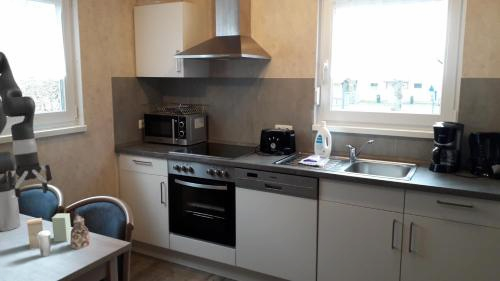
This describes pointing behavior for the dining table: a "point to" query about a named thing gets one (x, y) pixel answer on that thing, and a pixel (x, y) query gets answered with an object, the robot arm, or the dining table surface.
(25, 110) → the robot arm
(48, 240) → the milkshake
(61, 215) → the sage block
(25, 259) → the dining table surface
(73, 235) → the figurine
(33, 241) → the beech block
